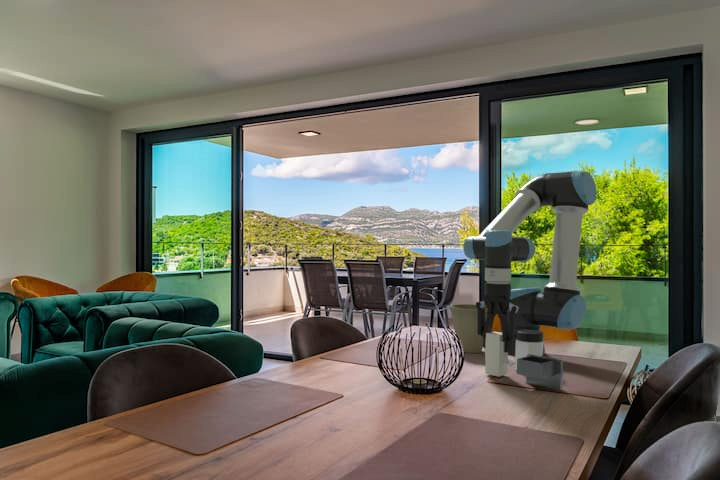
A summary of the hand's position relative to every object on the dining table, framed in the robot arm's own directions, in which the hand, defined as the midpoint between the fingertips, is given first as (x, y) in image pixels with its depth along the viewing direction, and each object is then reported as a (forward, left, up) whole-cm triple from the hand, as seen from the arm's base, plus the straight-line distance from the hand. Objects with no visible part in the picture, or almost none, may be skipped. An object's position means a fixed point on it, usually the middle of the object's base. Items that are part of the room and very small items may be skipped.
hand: (496, 361), depth 162 cm
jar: (-14, +3, -4) cm, 15 cm away
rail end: (0, 0, -4) cm, 4 cm away
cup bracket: (+4, +15, -4) cm, 16 cm away
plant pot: (-24, -25, -4) cm, 35 cm away
